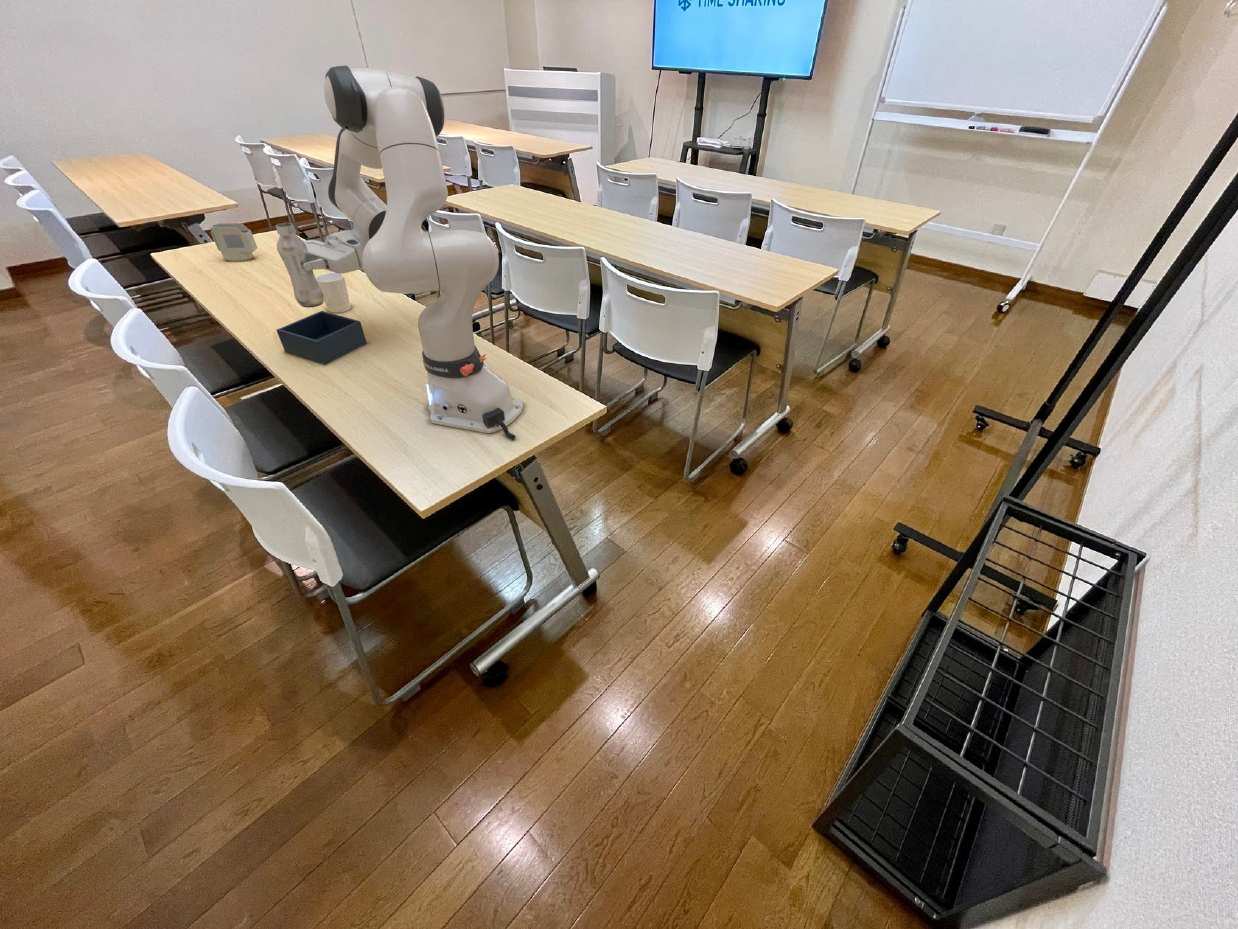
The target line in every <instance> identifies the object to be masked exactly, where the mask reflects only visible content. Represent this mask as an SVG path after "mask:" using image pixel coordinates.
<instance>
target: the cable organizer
mask: <svg viewBox="0 0 1238 929" xmlns="http://www.w3.org/2000/svg"><path fill="white" fill-rule="evenodd" d="M209 228H210V230H211V231H210V234H211V237H212V240H213V242H214V244H215V246H216V249H217V250H218V251H219V252H220V253H221V256H222V258H223V259H225V260H226V261H230V262H236V261H237V262H246V261H250V260H251V259H252V258H253V256H254V252H255V251H257V250H258V246H257V243H256V240H255V237H254V236H253V235H254V234H253V233H252V230H251V229H249V228H248V227H247V226H245V225H244V224H243V223H242V222H222V223H221V222H220V223H219V222H218V223H215V224H212V225H210V226H209Z"/></svg>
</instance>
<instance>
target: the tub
mask: <svg viewBox="0 0 1238 929" xmlns="http://www.w3.org/2000/svg"><path fill="white" fill-rule="evenodd" d="M275 331H276V333H277V336H278V338H279V340H280V344H281V345H282V348H283V350H284V353H286V354H289V355H292V356H295V357H298V358H302V359H305V360H308V361H311V362H313V363H318V364H321V365H323V366H325V365H327V364H329V363H331V362H334V361H336V360H337V359H340V358H341V357H343V356H345V355H347V354H349V353H351V352H353V351H355V350H357V349H359V348H360V347H362V346H364V345H366V344H367V343H368V342H367V339H366V335H365V333H364V329H363V325H362V321H360V320H357V319H353V318H350V317H346V316H343V315H339V314H337V313H333V312H329V311H324V310H320V311H318V312H315V313H313V314H310V315H309V316H305V317H303V318H301V319H299V320H296V321H294V322H292V323H289V324H287V325H284V326H282V327H279V328H277V329H276V330H275Z"/></svg>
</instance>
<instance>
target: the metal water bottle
mask: <svg viewBox="0 0 1238 929" xmlns="http://www.w3.org/2000/svg"><path fill="white" fill-rule="evenodd" d="M275 229H276V233H277V235H279V238H278V240H277V243H276V251H277V253H278V255H279V257H280V258H281V260H282V262H283V264H284V266H285V269H286V271H287V273H288V275H289V278H290V282H291V285H292V288H293V295H294V299H295V301H296V302H297V304H298V305H299V306H301V307H302V308H307V309H310V308H317V307H320V306H322V305H323V304H325V302H324V294H323V292H322V290H321V288H320V286H319V285H318V283H317V280H316V276H315V274H314V270H310V271H306V270H303V269H302V266H301V263H302V262H306V261H308V262H310V259H309V253H308V249H307V246H306V244H305V243H304V242H303V241H304V240H303V239H301V237H299V236H298V235H297V230H296V229H295V226H294V224H293V223H291V222H282V223H277V224H276V225H275Z"/></svg>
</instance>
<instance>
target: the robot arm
mask: <svg viewBox="0 0 1238 929" xmlns="http://www.w3.org/2000/svg"><path fill="white" fill-rule="evenodd" d="M324 77H325V80H324V84H323V94H324V101H325V103H326V106H327V109H328V111H329V113H330V115H331V117H332V119H333V121H334V122H335V123H336V124H337V125H338V126H339V127H340V130H339V131H338V134H337V138H336V143H335V151H334V160H333V161H334V162H333V170H332V176H331V179H330V181H329V184H328V188H327V193H328V194H327V196H328V199H329V201H330V203H331V204H332V205H333V206H334V207H335V208H337V209H338V210H339V211H340V212H341V213H343V215H345V216H346V217H347V219H349V220H350V221H351V222H352V223H353V229H344V230H341V231H336V232H333V233H329V234H328V235H326V239H325V241H320V240H317V239H307V240H302V241H303V242H304V243H305V244H306V246H307V249H308V253H309V259H310V262H308V261H306V262H302V263H301V266H302V269H303V270H306V271H310V270H313V271H314V270H316V271H317V270H326V271H329V272H331V273H340V274H348V273H352V272H356V271H358V270H359V271H364V273H365V276H366V278H367V279H368V281H369V282H370V283H371V284H372V285H373V286H374V287H375V288H376V289H377V290H378V291H380V292H382V293H392V294H404V295H408V294H409V295H410V294H419V293H426V292H436V291H437V292H438V291H440V292H441V294H440V295H439V297H438V298H437V299H436V300H435V301H433V302H432V303H430V304H429V305H428V306H426V307H425V308H423V310H422V311H421V313H420V314H419V316H418V319H417V329H418V333H419V337H420V342H421V346H422V351H421V357H422V364H423V366H424V370H425V371H426V372H427V384H426V390H427V396H428V403H427V404H428V405H427V409H428V411H429V413H430V416H429V419H430V423H432V424H433V425H434V424H435V425H439V426H445V427H451V428H455V429H461V430H467V431H473V432H477V433H484V434H492V433H495V432H498V431H500V430H502V431H503V432H504V435H505V436H506V437H507V438H508V439H511V440H515V439H516V435H515V434H513V433H511V431H509V428H508V426H509V425H510V424H512V422H514V421H515V420H516V419H517V418H518V417H519V416H520V415H521V413H522V411H523V409H524V405H523V401H522V400H520V399H517V398H516V397H514V396H513V395H512V391H511V389H510V386H509V385H508V383H506V382H505V380H503V379H502V377H501V375H500V374H496V373H495V372H494V371H492V369H490V368H489V367H488V366H487V365H485V363H484V361H485V360H486V359H487V357H486V356H487V354H483V355H481V354H480V351H479V350H478V347H477V346H476V345H475V338H474V328H473V313H474V309H475V304H476V302H477V300H478V298H479V296H480V295H481V293H482V292H483V291H484V289H485V288H486V287H487V286H488V285H489V284H490V283H492V282H493V280H494V279H495V278H496V276H497V273H498V271H499V266H500V259H499V251H498V249H497V247H496V245H495V243H494V242H493V240H492V239H491V238H490V236H488V235H487V234H486V233H485V232H483V231H482V232H481V231H475V230H467V229H450V230H435V231H434V230H433V231H428V230H423V228H422V224H423V222H424V221H425V220H426V219H427V218H429V217H430V216H432V215H433V214H435V213H437V212H438V211H439V210H440V209H442V207H444V205H445V204H446V202H447V199H448V195H449V194H448V192H449V191H448V186H447V181H446V180H447V179H446V176H445V170H444V166H443V161H442V157H441V151H440V148H439V143H438V139H437V137H438V136H440V134H441V133H442V131H443V129H444V125H445V116H446V115H445V114H446V112H445V105H444V101H443V96H442V94H441V91H440V90H439V88H438V87H437V85H436V84H435V83H434V82H433V81H431V80H429V79H426V78H424V77H421V76H411V75H407V74H403V73H400V72H395V71H389V70H384V69H383V68H373V67H350V66H348V65H336V66H331V67H330V68H329V69H328V70H327V71H326V73H325V76H324ZM362 166H363V167H366V168H368V169H373V170H375V169H376V170H380V169H382V173H383V177H384V178H383V179H384V185H385V191H386V203H385V202H384V201H383V200H382V199H381V198H380V197H379V196H378V195H377V194H376V193H375V192H374V191H373V190H372V189H371V188H370V187H369V185H367V183H366V182H365V180H364V179H363V177H362V175H361V170H362V169H361V168H362Z"/></svg>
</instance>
